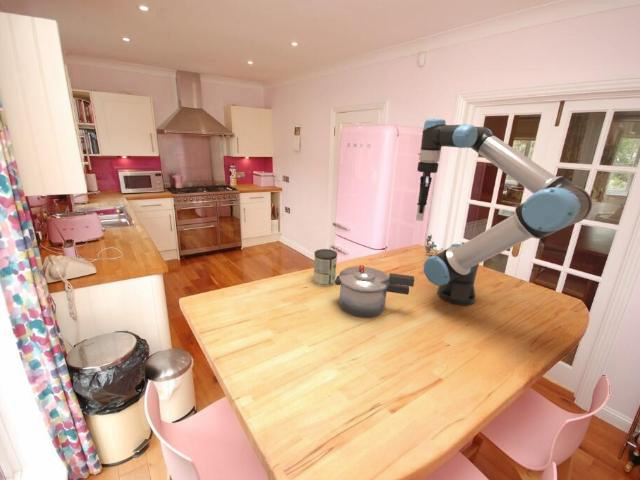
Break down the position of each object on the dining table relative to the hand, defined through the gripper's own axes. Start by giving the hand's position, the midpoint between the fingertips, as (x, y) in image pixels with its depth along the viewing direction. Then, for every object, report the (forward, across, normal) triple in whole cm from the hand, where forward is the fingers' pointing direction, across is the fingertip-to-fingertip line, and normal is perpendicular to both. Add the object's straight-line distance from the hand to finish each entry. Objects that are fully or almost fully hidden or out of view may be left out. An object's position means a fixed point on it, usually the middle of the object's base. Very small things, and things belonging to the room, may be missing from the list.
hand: (419, 220), depth 124 cm
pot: (+32, +20, -16) cm, 41 cm away
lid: (+21, +20, -15) cm, 33 cm away
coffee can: (+33, +4, -38) cm, 50 cm away
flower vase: (+33, -36, +19) cm, 52 cm away
